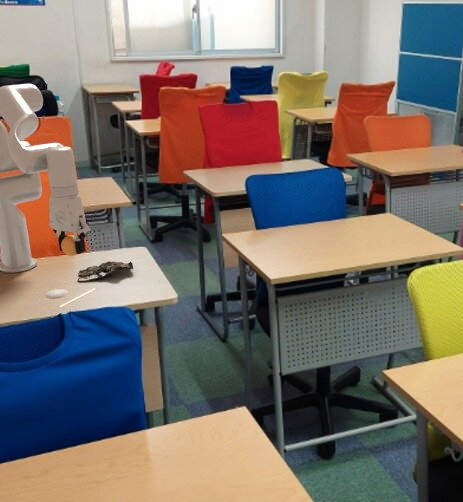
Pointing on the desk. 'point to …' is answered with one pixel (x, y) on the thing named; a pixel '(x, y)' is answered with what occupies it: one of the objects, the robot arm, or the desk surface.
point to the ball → (69, 245)
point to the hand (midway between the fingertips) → (72, 250)
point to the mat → (62, 295)
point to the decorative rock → (104, 269)
